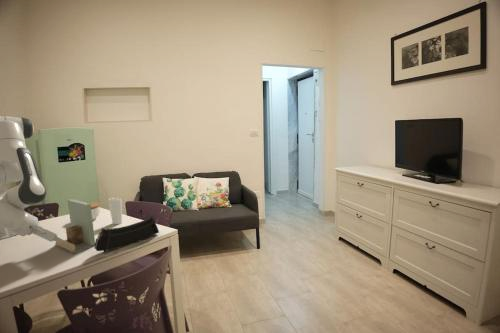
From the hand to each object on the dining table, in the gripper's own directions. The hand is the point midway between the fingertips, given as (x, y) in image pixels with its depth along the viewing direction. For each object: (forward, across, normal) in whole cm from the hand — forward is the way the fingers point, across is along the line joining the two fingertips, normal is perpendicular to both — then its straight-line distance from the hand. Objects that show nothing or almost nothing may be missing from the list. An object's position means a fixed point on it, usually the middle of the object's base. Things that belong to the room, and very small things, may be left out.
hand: (54, 238), depth 129 cm
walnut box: (+10, 0, -2) cm, 10 cm away
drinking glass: (+31, +11, -21) cm, 39 cm away
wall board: (+10, 0, -1) cm, 10 cm away
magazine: (+21, -22, -11) cm, 32 cm away
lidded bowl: (+28, +34, -18) cm, 47 cm away
